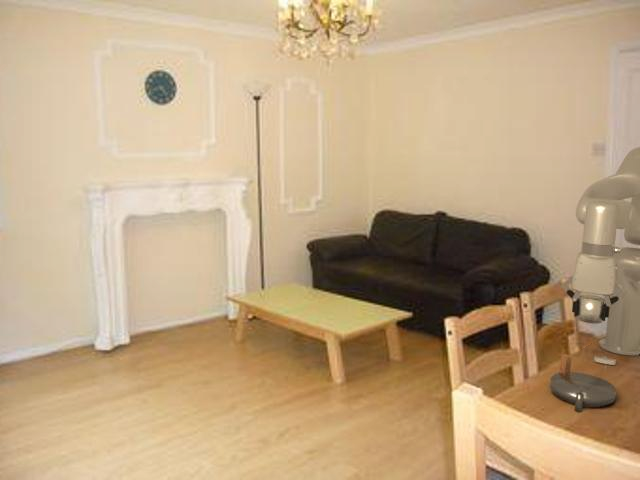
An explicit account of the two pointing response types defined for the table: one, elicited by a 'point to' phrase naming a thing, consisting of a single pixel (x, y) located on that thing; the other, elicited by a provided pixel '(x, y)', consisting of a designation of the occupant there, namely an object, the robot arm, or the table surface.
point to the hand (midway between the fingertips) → (589, 316)
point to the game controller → (605, 360)
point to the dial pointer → (579, 401)
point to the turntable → (581, 385)
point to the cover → (590, 309)
